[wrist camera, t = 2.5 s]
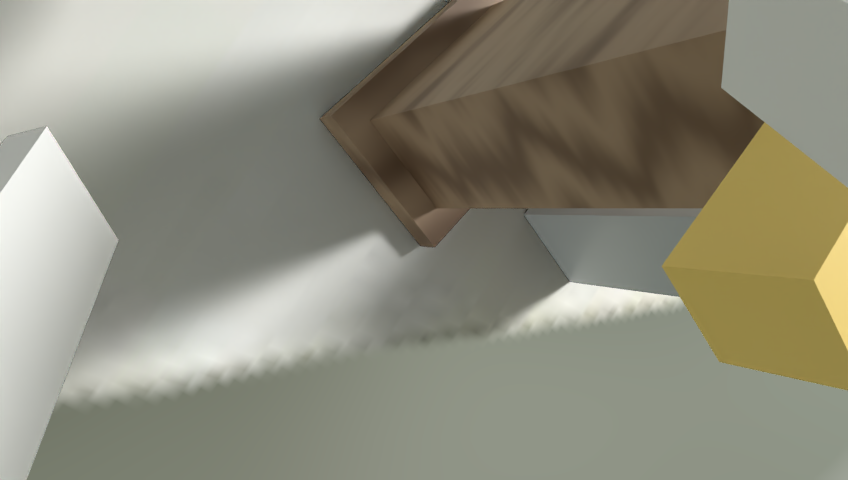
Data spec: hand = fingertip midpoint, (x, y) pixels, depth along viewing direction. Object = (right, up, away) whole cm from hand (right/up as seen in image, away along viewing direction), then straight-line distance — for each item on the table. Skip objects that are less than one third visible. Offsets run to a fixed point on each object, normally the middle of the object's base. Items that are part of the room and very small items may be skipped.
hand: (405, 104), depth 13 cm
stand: (+2, +7, +37) cm, 38 cm away
